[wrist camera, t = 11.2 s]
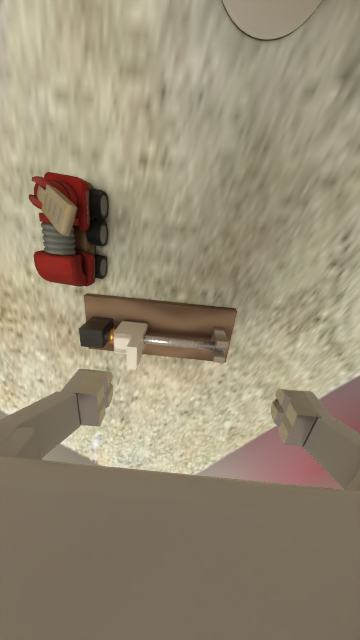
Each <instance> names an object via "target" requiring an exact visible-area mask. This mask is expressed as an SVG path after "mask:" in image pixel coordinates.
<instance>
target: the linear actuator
mask: <svg viewBox="0 0 360 640" xmlns="http://www.w3.org/2000/svg"><path fill="white" fill-rule="evenodd" d="M84 303H85V313H86V322H87V321H88V320H89V319H91V318H92V317H93V316H95V317H105V318H113V329H117V327H118V326H119V325H120V323H121V322H122V321H126V322H136V323H146V324H147V330H146V333H145V335H151V336H161V337H170V338H180V339H190V340H200V341H210V342H215V344H216V347H220V348H225V351H214V350H204V349H194V348H184V347H175V346H165V345H155V344H146V346H145V349H144V351H143V354H148V355H158V356H168V357H178V358H188V359H198V360H207V361H213V362H218V363H224V362H226V358H227V353H228V349H229V344H230V340H231V335H232V331H233V326H234V322H235V317H236V313H237V311H236V309H233V308H223V307H214V306H204V305H194V304H184V303H175V302H165V301H155V300H145V299H136V298H126V297H116V296H106V295H97V294H86V295H84ZM89 349H99V350H109V351H114V344H113V343H109V341H108V342H107V343H106V345H105V346H104V347H103V348H94V347H89Z"/></svg>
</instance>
